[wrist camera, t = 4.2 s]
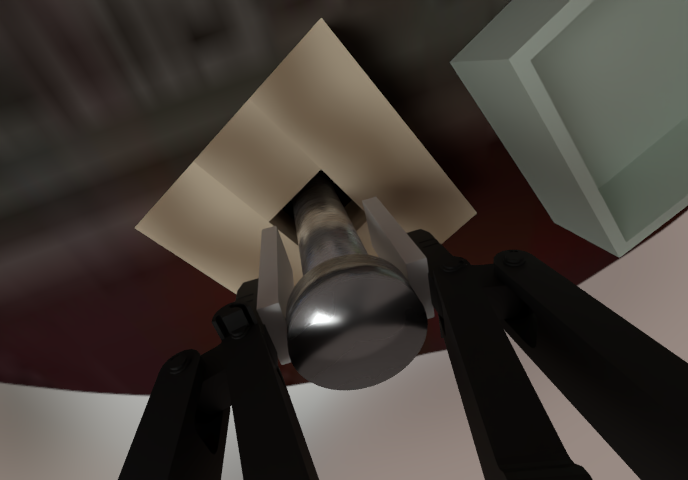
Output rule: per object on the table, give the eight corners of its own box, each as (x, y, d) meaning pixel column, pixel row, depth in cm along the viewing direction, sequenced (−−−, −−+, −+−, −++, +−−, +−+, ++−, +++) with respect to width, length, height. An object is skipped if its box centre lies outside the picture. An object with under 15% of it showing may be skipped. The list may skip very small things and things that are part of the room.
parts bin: (681, -169, 18) (850, -268, 13) (734, 74, 25) (857, 75, 20) (449, 62, 21) (508, 59, 16) (554, 222, 28) (619, 257, 23)
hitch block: (312, 27, 19) (321, 17, 15) (448, 193, 25) (476, 213, 22) (157, 202, 22) (134, 227, 18) (314, 313, 28) (320, 349, 24)
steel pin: (313, 148, 22) (365, 249, 10) (360, 195, 24) (453, 329, 12) (265, 198, 23) (255, 350, 10) (314, 240, 25) (355, 407, 12)
